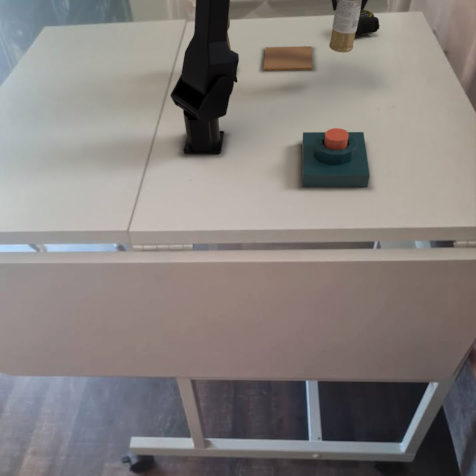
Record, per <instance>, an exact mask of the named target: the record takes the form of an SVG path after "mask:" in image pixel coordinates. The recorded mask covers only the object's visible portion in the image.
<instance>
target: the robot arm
mask: <svg viewBox="0 0 476 476" xmlns="http://www.w3.org/2000/svg"><path fill="white" fill-rule="evenodd" d="M368 1H369V0H362V5H361V10H365V8H366V6H367V4H368ZM336 4H337V0H331V6H332V10H333V12H335V11H336ZM230 5H231V0H195V6H194V7H195V9H194V12H195V13H194V28H193V29H194V30H193V36H192V37H191V39H190V41H189V43H188V45H187V46H186V49H185V51H184V54H183V62H182V66H181V73H180V75H179V78H178V79H177V82H176V84H175V85H174V87H173V89H172V91H171V93H170V98H171V100H172V101H173V102H172V103H174V105H175V106H176V107H178V108H180V109H181V110H182V113H183V120H184V127H185V133H186V138H185V141H184V145H183V154H184V155H220V154H222V151H223V144H224V138H225V131H224V130H221V129H220V121H219V119H220V118H222V117H224V116H227V112H228V108H229V103H230V98H231V95H232V93H233V90H234V86H235V83H236V84H237V83H238V77H237V75H238V66H239V62H240V55H239V53H237V51H234V50H232V49H231V50H230V49H229V46H228V43H227V28H228V17H229V18H230V15H229V14H230Z"/></svg>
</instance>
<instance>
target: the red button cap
mask: <svg viewBox="0 0 476 476" xmlns="http://www.w3.org/2000/svg"><path fill="white" fill-rule="evenodd" d="M325 132H326V133H325V139H324V146H325V147H326V148H328V149H331V150H342V149H345V148H346V147H347V143H348V136H349V134H348V132H349V131H347V130H346V129H343V128H339V127H334V128H330V129H327V130H325Z"/></svg>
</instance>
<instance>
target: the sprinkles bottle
mask: <svg viewBox="0 0 476 476" xmlns="http://www.w3.org/2000/svg"><path fill="white" fill-rule="evenodd" d="M361 5H362V0H337V4H336V11H334V13H333V14H334V16H333V21H332V28H331V30H332V31H331V34H330V42H329V45H328V46H329V48H330V50H332V51H334V52H335V53H336V52H337V53H343V54H344V53H349V52H351V51H353V49H354V44H355V43H354V42H355V38H356V36H355V33H356V30H357V25H358V20H359V15H360V10H361Z"/></svg>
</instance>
